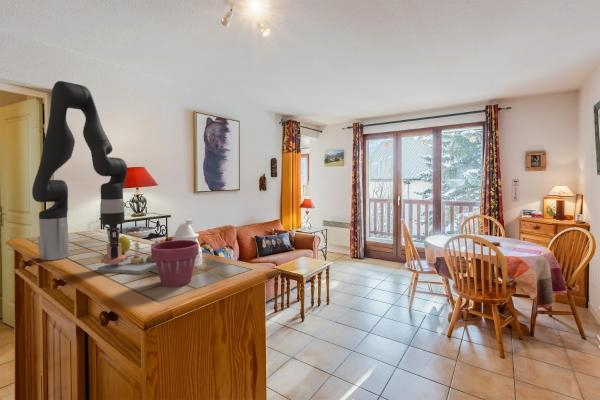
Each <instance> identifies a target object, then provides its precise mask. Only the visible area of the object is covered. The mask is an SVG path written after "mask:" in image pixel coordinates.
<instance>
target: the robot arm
mask: <svg viewBox="0 0 600 400" xmlns="http://www.w3.org/2000/svg"><path fill="white" fill-rule="evenodd" d="M49 107H50V108H49V118H48V123H47V128H46V132H45V136H44V140H43V146H42V151H41V158H40V162H39V165H38V168H37V172H36V175H35V178H34V181H33V184H32V188H31V189H32V190H31V195H32V199H33V200H34V201H35V202H37V203H53V202H54V203H53V204H52V206H50V207H48V208H46V209H44V210H41V211H39V212H38V220H39V221H38V222H39V236H38V257H39V259H40V260H42V261H55V260H57V261H58V260H62V259H66V258H69V257H70V251H69V250H70V248H69V247H70V246H69V226H68V211H69V202H68V201H69V189H68V188H69V187H68V184H67V182H66V181H64V180H62V179H51V178H52V177H53V175H54V174H55V173H56V171H58V170H59V169H60V168H62V166H64V165H65V164H66V163H67V162H69V160H70V159H71V157H72V155H73V152H74V148H75V143H76V141H75V136H74V135H73V133H72V131H71V129H70V126H69V125H68V122H67V112H68V109H74V110H79V111H81V112H82V113H83V115H84V118H85V120H84V121H85V122H84V124H83V127H82V128H83V129H82V136H83V138H84V141H85V143H86V145H87V147H88V149H89V150H90V153H91V155H90V156H91V161H92V166H93V170H94V171H95V172H96V174H98V175H99V176H101V177H110V179H109V181H108V182H105V183H103V184H101V185H100V206H99V208H100V224H101V225H103V226H109V227H108V228H106V234H107V240H108V244H110V248H111V258H117V257H118V247H119V244H118V241H119V238H120V227H118V225H122V224H124V223H125V222H126V221H125V202H124V185H125V181H126V178H127V174H128V165H127V163H126V161H125V160H124V159H123V158H120V157H113V156H112V157H109V156H108V155H110V154H111V153H112V152H113V146H112V143H111V142H110V139H109V137H108V136H107V134H106V132H105V130H104V128H103V125H102V122H101V120H100V117H99V112H98V110H97V106H96V103H95V100H94V97H93V95H92V93H91V91H90V89H89V88H88V87H86V86H85V85H83V84H82V85H81V84H79V83H78V84H77V83H74V82H69V81H63V80H57V81H55V83H54V84H53V87H52V90H51V99H50V106H49ZM112 243H116V244H112Z"/></svg>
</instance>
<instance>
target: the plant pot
mask: <svg viewBox="0 0 600 400" xmlns="http://www.w3.org/2000/svg"><path fill="white" fill-rule="evenodd" d="M198 242H199V241H198ZM198 242H196V241H192V240H174V241H172V240H169V241H168V240H167V241H160V243H157V244H155V245H153V246H152V247H151V246H150V250H151V251H150V253H151V254H150V256H152V259H154V260H155V262H156V266H157V268H156V269H157V273H158V277H159V280H160V282H161V283H160V284H161V285H162V286H163V287H166V288H177V287H181V285H182V286H184V285H188V284H189V283H191V282H192V277H193V273H194V268H195V267H194V264H195V259H196V256H197V255H198V254H199V245H200V244H199V245H198ZM190 281H191V282H190ZM187 283H188V284H187ZM176 286H177V287H176Z"/></svg>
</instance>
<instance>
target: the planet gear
mask: <svg viewBox="0 0 600 400" xmlns="http://www.w3.org/2000/svg"><path fill="white" fill-rule="evenodd" d="M112 244H116V243H112ZM118 244H119V247H118V257H117V258H111V248H110V244H109V243H106V256H104V257H103V258H100V263H101V264H104V265H108V264H117V263H120V262H125V261H126V260H128V258H129V257H128V255H125V254H123V253H122V249H121V243H118Z"/></svg>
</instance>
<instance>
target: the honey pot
mask: <svg viewBox="0 0 600 400" xmlns="http://www.w3.org/2000/svg"><path fill="white" fill-rule="evenodd" d="M192 224H193V219H189V218H188V219H185V222H183V223H181V224H180V225H179V226H178V227H177V229H176V231H175V233H174V234H173V235H171V238H172V240H171V241H174V240H192V241H196V242H198V245H199V254H198V255H197V256H196V259H195V264H194V268H196V267H195V266H197V267H199V266H201V265H203V250H202V248H201V245H200V242H199V240H198V237H199V233H197V232H195V231H194V229H193V228H192V226H191V225H192ZM198 265H199V266H198Z"/></svg>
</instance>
